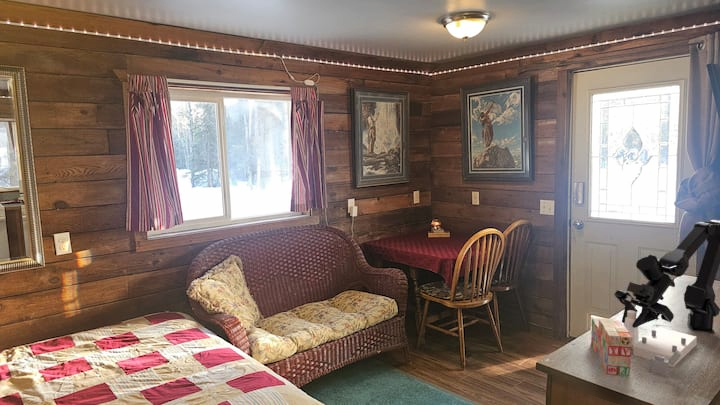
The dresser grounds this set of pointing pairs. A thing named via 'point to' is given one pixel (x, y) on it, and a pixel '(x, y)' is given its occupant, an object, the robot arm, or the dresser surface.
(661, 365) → the lighter
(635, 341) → the pepper shaker
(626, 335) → the stack of blocks
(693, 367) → the dresser surface
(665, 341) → the cream board with pegs
